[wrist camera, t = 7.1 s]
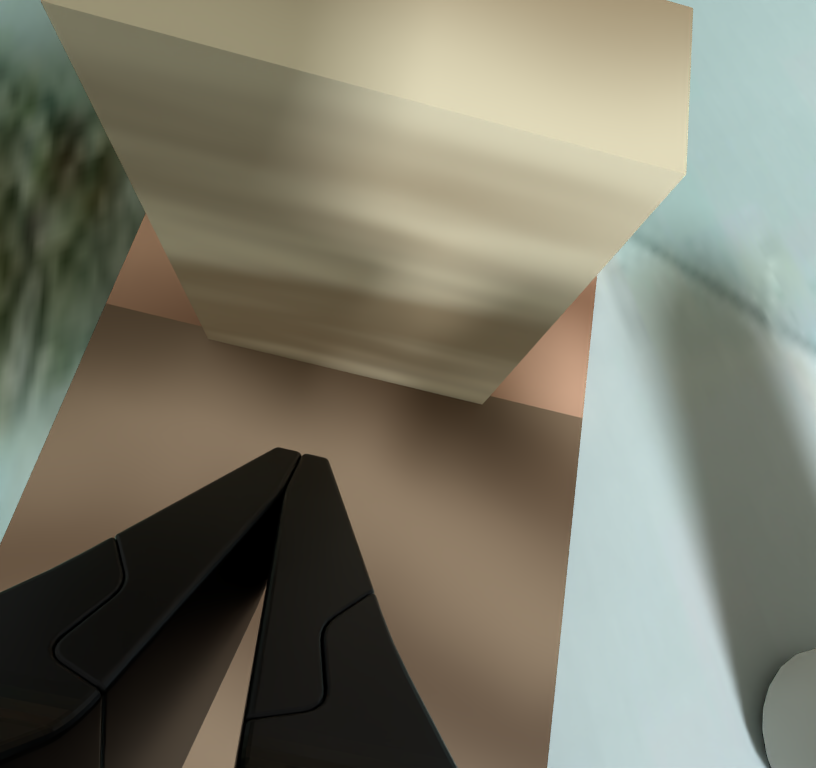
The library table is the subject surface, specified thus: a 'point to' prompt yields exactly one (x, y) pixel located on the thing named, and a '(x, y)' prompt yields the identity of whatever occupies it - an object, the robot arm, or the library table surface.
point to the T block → (389, 164)
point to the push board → (360, 490)
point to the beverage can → (792, 714)
